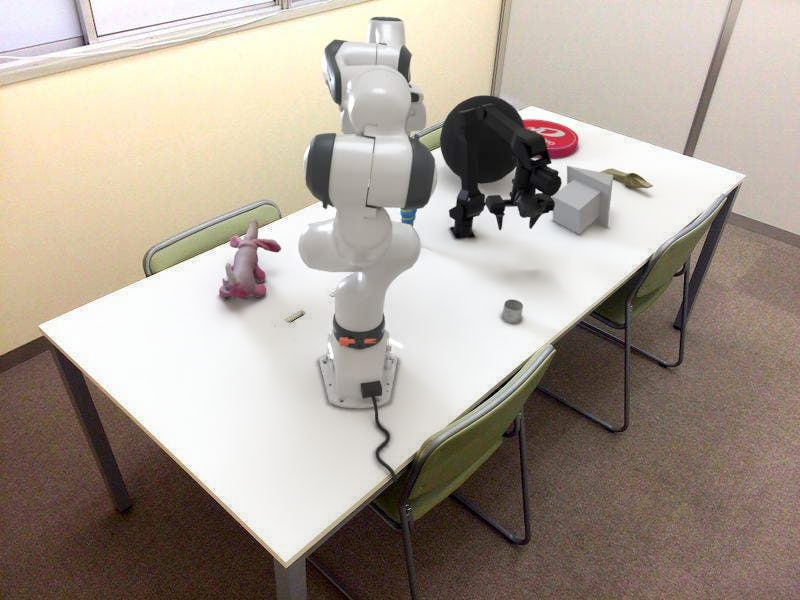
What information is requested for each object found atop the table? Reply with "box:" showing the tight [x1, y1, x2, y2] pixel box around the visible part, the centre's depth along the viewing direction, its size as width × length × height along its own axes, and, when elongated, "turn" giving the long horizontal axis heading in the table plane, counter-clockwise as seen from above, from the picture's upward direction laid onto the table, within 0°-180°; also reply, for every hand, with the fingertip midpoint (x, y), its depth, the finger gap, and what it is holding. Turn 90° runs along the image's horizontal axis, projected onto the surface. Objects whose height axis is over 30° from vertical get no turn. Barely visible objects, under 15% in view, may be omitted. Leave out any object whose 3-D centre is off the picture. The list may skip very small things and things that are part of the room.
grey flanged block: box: [551, 165, 614, 235], centre depth 214 cm, size 17×24×18 cm
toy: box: [218, 218, 282, 301], centre depth 179 cm, size 19×24×15 cm
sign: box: [522, 118, 579, 159], centre depth 266 cm, size 30×4×30 cm
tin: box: [501, 299, 524, 324], centre depth 175 cm, size 5×5×4 cm
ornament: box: [399, 208, 418, 227], centre depth 199 cm, size 5×5×15 cm
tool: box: [601, 167, 654, 189], centre depth 240 cm, size 22×6×5 cm, turn 26°
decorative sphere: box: [439, 94, 525, 185], centre depth 230 cm, size 30×30×30 cm
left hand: (382, 148), depth 157 cm, fingers open, 8 cm apart
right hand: (515, 228), depth 188 cm, fingers open, 9 cm apart
